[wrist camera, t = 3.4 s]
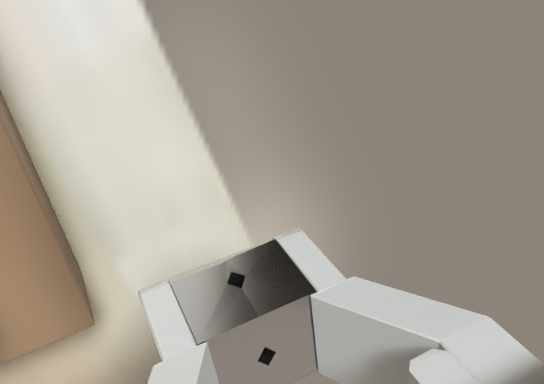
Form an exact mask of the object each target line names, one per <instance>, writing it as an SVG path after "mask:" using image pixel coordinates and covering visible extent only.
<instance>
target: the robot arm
mask: <svg viewBox="0 0 544 384" xmlns="http://www.w3.org/2000/svg"><path fill="white" fill-rule="evenodd" d="M138 293H139V298H140V301H141V304H142V306H143V309H144V312H145V315H146V318H147V320H148V323H149V326H150V329H151V332H152V334H153V337H154V340H155V343H156V346H157V348H158V351H159V354H160V357H161V360H162V362H160V363H158V364H155V365H153V367H152V370H151V373H150V376H149V378H148V381H147V384H290V383H292V382H294V381H296V380H298V379H301V378H303V377H305V376H307V375H309V374H311V373H314V372H316V371H319V373H320V374H322V375H323V376H325V377H327V378H329V379H331V380H333V381H335V382H336V383H338V384H544V364H542V363H541V362H540V361H539V360H538V359H537V358H536V357H535V356H533V355H532V354H531V353H530V352H529V351H528V350H526V349H525V348H524V347H523V346H522V345H521V344H520V343H518V342H517V341H516V340H515V339H514V338H513V337H512V336H510V335H509V334H508V333H507V332H506V331H505V330H504V329H502V328H501V327H500V326H499V325H498V324H497V323H496V322H494V321H493V320H492V319H491V318H490V317H487V316H484V315H481V314H477V313H474V312H470V311H467V310H464V309H461V308H457V307H454V306H451V305H447V304H444V303H441V302H437V301H434V300H431V299H428V298H424V297H421V296H418V295H414V294H411V293H408V292H404V291H401V290H398V289H394V288H391V287H388V286H385V285H381V284H378V283H374V282H371V281H368V280H365V279H361V278H358V277H355V276H354V277H351V278H349V279H346V278H345V277H344V276H343V275H342V274H341V272H340V271H339V270H338V269H337V268H336V267H335V266H334V265H333V264H332V263H331V262H330V260H328V258H327V257H326V256H325V255H324V254H323V253H322V252H321V251H320V250H319V248H318V247H317V246H316V245H315V244H314V243H313V242H312V241H311V240H310V239H309V237H308V236H307V235H306V234H305V233H304V232H303V231H302V230H301V229H298V228H295V229H293V230H290V231H288V232H286V233H283V234H281V235H278V236H276V237H274V238H272V239H270V240H268V241H265V242H263V243H260V244H258V245H255V246H253V247H250V248H248V249H245V250H243V251H240V252H238V253H235V254H233V255H231V256H228V257H226V258H223V259H221V260H218V261H215V262H212V263H210V264H207V265H204V266H202V267H199V268H196V269H194V270H191V271H188V272H185V273H183V274H180V275H177V276H175V277H172V278H169V279H168V281H167V280H165V281H163V282H160V283H157V284H155V285H152V286H149V287H147V288H144V289H141V290H139V291H138Z"/></svg>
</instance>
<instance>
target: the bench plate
mask: <svg viewBox="0 0 544 384" xmlns="http://www.w3.org/2000/svg"><path fill="white" fill-rule="evenodd" d="M93 325H95V324H94V320H93V316H92V313H91V309H90V305H89V301H88V297H87V293H86V290H85V286H84V282H83V278H82V274H81V271H80V268H79V266H78V263H77V261H76V259H75V257H74V255H73V252H72V250H71V248H70V246H69V243H68V241H67V239H66V237H65V234H64V232H63V230H62V228H61V225H60V223H59V221H58V219H57V217H56V214H55V212H54V210H53V208H52V205H51V203H50V201H49V199H48V196H47V194H46V192H45V190H44V187H43V185H42V183H41V181H40V178H39V176H38V174H37V172H36V170H35V167H34V165H33V163H32V161H31V158H30V156H29V154H28V152H27V149H26V147H25V145H24V143H23V140H22V138H21V136H20V134H19V131H18V129H17V127H16V125H15V123H14V120H13V118H12V116H11V114H10V111H9V109H8V107H7V105H6V102H5V100H4V98H3V96H2V93H1V91H0V364H2V363H5V362H7V361H10V360H12V359H14V358H17V357H19V356H21V355H24V354H26V353H29V352H31V351H33V350H36V349H38V348H41V347H43V346H45V345H48V344H50V343H52V342H55V341H57V340H60V339H62V338H64V337H67V336H69V335H72V334H74V333H76V332H79V331H81V330H84V329H86V328H88V327H91V326H93Z"/></svg>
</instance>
